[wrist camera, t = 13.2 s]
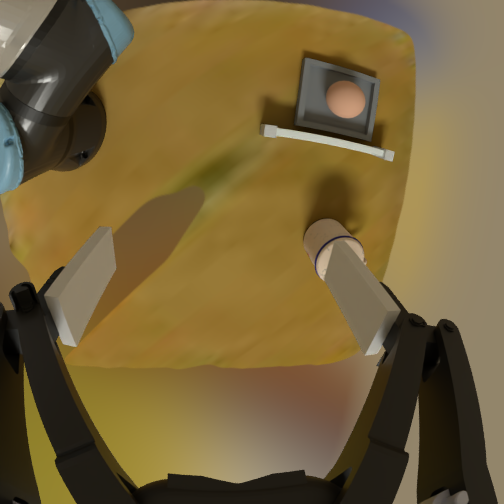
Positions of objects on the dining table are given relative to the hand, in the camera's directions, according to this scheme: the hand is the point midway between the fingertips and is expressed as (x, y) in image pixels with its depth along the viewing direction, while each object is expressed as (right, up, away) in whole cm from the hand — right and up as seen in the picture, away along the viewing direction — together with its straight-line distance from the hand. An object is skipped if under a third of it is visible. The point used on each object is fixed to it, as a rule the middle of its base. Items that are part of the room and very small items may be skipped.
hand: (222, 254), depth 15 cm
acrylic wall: (+14, +19, +27) cm, 36 cm away
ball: (+16, +24, +21) cm, 36 cm away
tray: (+16, +26, +24) cm, 39 cm away
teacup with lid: (+17, +2, +37) cm, 41 cm away
